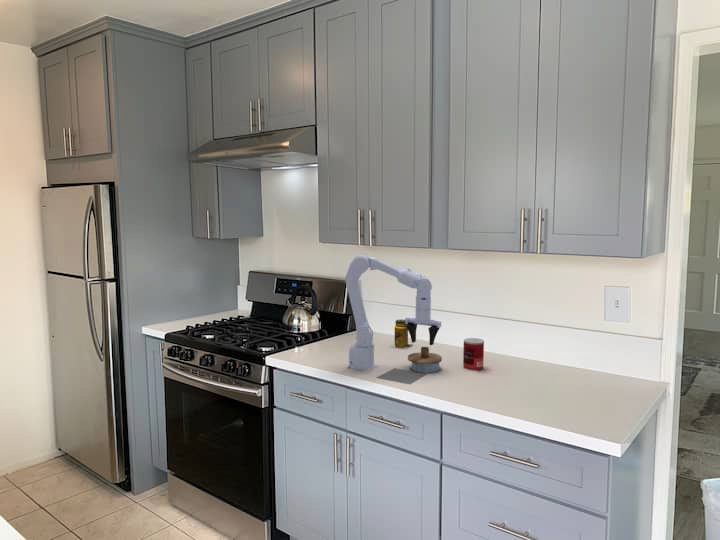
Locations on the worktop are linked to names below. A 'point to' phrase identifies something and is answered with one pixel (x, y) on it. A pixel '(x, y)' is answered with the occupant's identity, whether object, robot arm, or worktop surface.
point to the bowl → (425, 367)
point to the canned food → (473, 353)
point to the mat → (401, 376)
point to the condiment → (401, 334)
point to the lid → (424, 357)
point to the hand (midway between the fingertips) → (422, 343)
